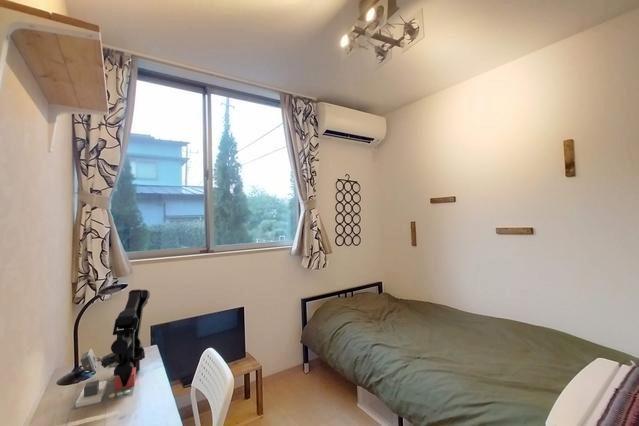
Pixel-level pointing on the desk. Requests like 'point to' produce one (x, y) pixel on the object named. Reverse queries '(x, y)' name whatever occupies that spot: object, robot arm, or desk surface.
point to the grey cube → (91, 388)
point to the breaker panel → (109, 391)
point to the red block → (130, 382)
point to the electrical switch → (89, 361)
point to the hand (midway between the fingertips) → (125, 382)
